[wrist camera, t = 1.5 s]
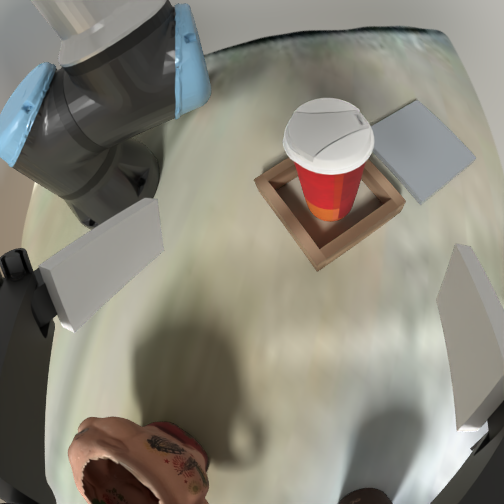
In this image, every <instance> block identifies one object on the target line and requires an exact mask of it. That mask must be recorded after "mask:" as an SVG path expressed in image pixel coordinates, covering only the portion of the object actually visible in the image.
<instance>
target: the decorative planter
mask: <svg viewBox="0 0 504 504" xmlns="http://www.w3.org/2000/svg"><path fill="white" fill-rule="evenodd" d="M68 457H69V461H70V464H71V467H72V471H73V476H74V480H75V483H76V486H77V488H78V490H79V492H80V493H81V495H82V496H83V497H84V499H85V500H86V501H87V503H88V504H209V503H208V502H207V500H206V499H205V496H206V494H207V492H208V489H209V481H208V477H207V474H206V472H207V469H208V456H207V454H206V452H205V451H204V449H203V448H202V447H201V445H200V444H199V443H198V442H197V441H196V440H195V439H194V438H193V437H192V436H190V435H189V434H188V433H186V432H185V431H183V430H182V429H180V428H179V427H178V426H176V425H175V424H173V423H171V422H153V423H151V424H148V425H146V426H144V427H141V426H139V425H138V424H136V423H134V422H132V421H130V420H128V419H124V418H120V417H107V418H97V417H89V418H87V419H85V420H84V421H83V422H82V423H81V424H80V426H79V428H78V433H77V434H76V435H75V437H74V439H73V441H72V443H71V445H70V447H69V449H68Z"/></svg>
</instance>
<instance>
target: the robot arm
mask: <svg viewBox="0 0 504 504" xmlns="http://www.w3.org/2000/svg"><path fill="white" fill-rule="evenodd" d="M31 2H32V3H33V4H34V6H35V7H36V8H37V9H38V11H39V12H40V13H41V14H42V16H43V17H44V18H45V20H46V21H47V22H48V23H49V24H50V26H51V27H52V28H53V30H54V31H55V32H56V33H57V35H58V36H59V37H60V39H61V48H60V53H59V58H58V63H59V64H60V65H61V66H62V68H61V69H59V70H57V69H56V66H55V65H54V64H51V63H49V62H44V63H43V64H40V65H38V66H37V67H36V68H35V69H33V70H32V71H31V72H30V73H29V74H28V75H27V76H26V77H25V78H24V80H23V81H22V82H21V83H20V85H19V86H18V87H17V88H16V90H15V91H14V93H13V94H12V95H11V97H10V98H9V100H8V102H7V103H6V105H5V107H4V108H3V110H2V112H1V114H0V157H1V158H2V159H3V160H5V161H6V162H7V163H8V165H9V166H10V167H12V168H14V169H16V170H17V171H19V172H20V173H22V174H24V175H25V176H27V177H28V178H30V179H32V180H33V181H35V182H36V183H38V184H40V185H41V186H43V187H45V188H46V189H48V190H49V191H51V192H53V193H54V194H56V195H58V196H59V197H61V198H62V199H64V200H65V202H66V203H67V205H68V206H69V207H70V209H71V210H72V212H73V213H74V214H75V216H76V217H77V218H78V220H79V221H80V222H81V223H82V224H83V225H84V226H85V227H87V228H89V229H91V231H89V232H87V233H86V234H84V235H83V236H81V237H80V238H78V239H77V240H75V241H74V242H72V243H71V244H69V245H68V246H66V247H65V248H63V249H62V250H60V251H59V252H57V253H56V254H54V255H53V256H51V257H50V258H49V259H47V260H46V261H44V262H43V263H42V264H40V265H39V268H38V269H36V270H35V271H33V269H32V266H31V263H30V260H29V257H28V254H27V251H26V250H25V249H23V248H18V249H14V250H11V251H9V252H7V253H5V254H4V255H3V256H1V257H0V266H1V269H2V271H3V274H4V277H5V278H3V277H2V275H1V272H0V498H1V499H2V500H4V501H5V502H6V503H1V504H56V499H55V496H54V494H53V491H52V490H51V488H50V486H49V485H48V483H47V480H46V476H45V409H46V394H47V382H48V373H49V364H50V356H51V349H52V342H53V336H54V330H55V323H54V321H53V318H54V317H55V316H56V315H58V318H59V320H60V322H61V324H62V327H64V328H66V329H68V330H70V331H72V332H74V333H75V332H76V331H77V330H78V329H79V328H80V327H81V326H82V325H83V324H84V323H85V322H86V321H87V320H88V319H89V318H91V317H92V316H93V315H94V314H95V313H96V312H97V311H98V310H99V309H100V308H101V307H102V306H103V305H104V304H105V303H106V302H108V301H109V300H110V299H111V298H112V297H113V296H114V295H115V294H116V293H117V292H118V291H119V290H120V289H122V288H123V287H124V286H125V285H126V284H127V283H128V282H129V281H130V280H131V279H133V278H134V277H135V276H136V275H137V274H138V273H139V272H140V271H142V270H143V269H144V268H145V267H146V266H147V265H148V264H149V263H151V262H152V261H153V260H154V259H155V258H156V257H157V256H159V255H160V254H161V253H162V252H163V251H164V246H163V239H162V231H161V224H160V216H159V207H158V199H152V198H153V196H154V194H155V191H156V188H157V185H158V180H159V166H158V162H157V160H156V158H155V156H154V155H153V154H152V152H151V151H150V150H149V149H148V148H147V147H146V146H145V145H144V144H142V143H141V142H139V141H136V140H134V139H132V138H131V137H133V136H135V135H137V134H140V133H142V132H144V131H146V130H148V129H151V128H153V127H155V126H158V125H160V124H162V123H165V122H167V121H169V120H172V119H174V118H175V119H178V118H179V117H180V116H181V115H183V114H185V113H187V112H190V111H192V110H194V109H196V108H199V107H201V106H203V105H204V104H205V103H206V102H207V101H208V99H209V98H210V95H211V85H210V80H209V75H208V71H207V67H206V63H205V59H204V55H203V51H202V47H201V43H200V40H199V35H198V32H197V28H196V24H195V21H194V17H193V14H192V12H191V8H190V6H189V5H188V4H186V3H184V4H179V3H178V4H176V5H175V7H172V5H171V4H170V2H169V0H31ZM436 301H437V305H438V309H439V314H440V318H441V323H442V327H443V332H444V337H445V342H446V348H447V353H448V359H449V365H450V372H451V379H452V386H453V394H454V403H455V414H456V427H457V431H461V432H477V431H478V430H479V429H480V428H481V427H482V426H483V424H484V423H485V422H486V421H488V429H489V431H488V432H487V433H486V434H485V435H484V436H483V437H482V438H481V439H480V440H479V441H478V442H477V443H476V444H475V445H474V446H473V447H471V448H470V449H471V450H473V452H472V453H471V454H470V456H469V457H468V459H467V460H466V461H465V463H464V464H463V465H462V467H461V468H460V469H459V470H458V472H457V473H456V474H455V475H454V477H453V478H452V479H451V480H450V482H449V483H448V484H447V485H446V486H445V488H444V489H443V490H442V491H441V492H440V493H439V494H438V496H437V497H436V498H435V499H434V500H433V501H432V502H431V503H430V504H504V310H503V307H502V305H501V303H500V301H499V299H498V297H497V295H496V292H495V290H494V288H493V286H492V284H491V282H490V280H489V279H488V277H487V275H486V273H485V271H484V269H483V267H482V265H481V264H480V262H479V260H478V258H477V256H476V255H475V253H474V251H473V249H472V248H471V246H466V245H462V244H457V243H455V246H454V249H453V252H452V255H451V258H450V262H449V265H448V268H447V271H446V274H445V276H444V279H443V282H442V285H441V288H440V290H439V293H438V296H437V298H436Z"/></svg>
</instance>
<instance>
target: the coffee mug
mask: <svg viewBox="0 0 504 504" xmlns="http://www.w3.org/2000/svg"><path fill="white" fill-rule="evenodd" d="M339 504H393V503H392V502H391V501H390V499H389V498H388V497H387V495H386V494H385V493H384V492H383V491H381V490H378V489H375V488H363V489H359V490H356V491H353V492H351V493H349V494H348V495H346V496H345V497H344V498H343V499H342V500H341V501H340V502H339Z"/></svg>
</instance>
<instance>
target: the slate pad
mask: <svg viewBox="0 0 504 504" xmlns="http://www.w3.org/2000/svg"><path fill="white" fill-rule="evenodd" d="M371 128H372V130H373V134H374V148H373V151H372V152H373V153H374V154H375V155H376V156H377V157H378V158H379V159H380V160H381V161H382V162H383V163H384V164H385V165H386V166H387V167H388V168H389V170H390V171H391V172H392V173H393V174H394V175H395V176H396V177H397V178H398V179H399V181H400V182H401V183H402V184H403V185H404V186H405V187H406V189H407V190H408V191H409V192H410V193H411V194H412V196H413V197H414V198H415V199H416V200H417V202H418V203H419V204H420V205H421V204H422V203H424V202H425V201H426V200H427V199H429V198H430V197H431V196H433V195H434V194H435V193H436V192H438V191H439V190H440V189H441V188H443V187H444V186H445V185H446V184H447V183H449V182H450V181H451V180H452V179H454V178H455V177H456V176H457V175H458V174H460V173H461V172H462V171H463V170H464V169H466V168H467V167H468V166H469V165H470V164H472V163H473V162H474V161H475V159H476V157H475V156H474V155H473V153H472V152H471V151H470V150H469V149H468V148H467V147H466V146H465V145H464V144H463V143H462V142H461V141H460V140H459V139H458V138H457V137H456V135H455V134H454V133H453V132H452V131H451V130H450V129H449V128H448V127H446V126H445V125H444V124H443V123H442V122H441V121H440V120H439V119H438V118H437V117H436V116H435V115H434V114H433V113H432V112H431V111H430V110H428V109H427V108H426V107H425V106H424V105H423V104H422V103H421V102H419V101H418V100H416V101H414V102H412V103H411V104H409V105H407V106H405V107H404V108H402V109H400V110H398V111H397V112H395V113H393V114H391V115H390V116H388V117H386V118H385V119H383V120H381V121H380V122H378V123H376V124H374V125H373V126H371Z"/></svg>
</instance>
